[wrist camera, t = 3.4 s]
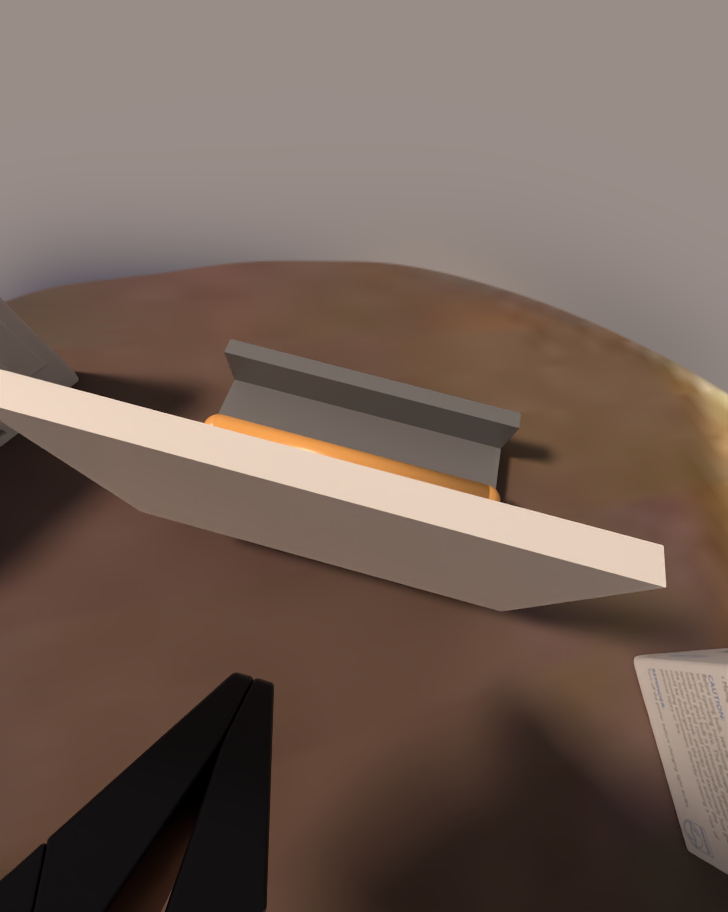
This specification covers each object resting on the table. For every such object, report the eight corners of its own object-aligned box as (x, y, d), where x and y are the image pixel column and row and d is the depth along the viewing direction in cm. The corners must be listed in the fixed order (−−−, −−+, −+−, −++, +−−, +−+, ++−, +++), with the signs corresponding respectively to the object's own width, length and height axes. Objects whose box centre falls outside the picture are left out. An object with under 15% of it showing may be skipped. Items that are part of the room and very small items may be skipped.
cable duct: (476, 596, 18) (502, 589, 15) (178, 514, 18) (151, 493, 16) (496, 441, 21) (520, 413, 18) (243, 376, 22) (230, 339, 19)
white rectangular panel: (503, 589, 15) (501, 611, 15) (150, 492, 16) (140, 511, 15) (663, 545, 8) (666, 587, 7) (-10, 366, 8) (-36, 398, 8)
